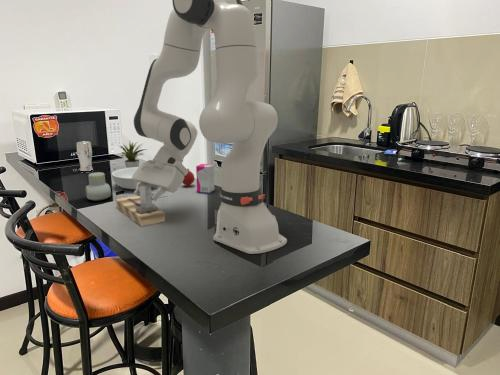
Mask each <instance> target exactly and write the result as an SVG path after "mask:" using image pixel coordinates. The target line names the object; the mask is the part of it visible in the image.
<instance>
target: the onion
mask: <svg viewBox="0 0 500 375" xmlns="http://www.w3.org/2000/svg"><path fill="white" fill-rule="evenodd" d="M186 169H187V170H188V173H187V175H186V176H184V180H183V182H182V185H184V186H186V187H190V186H191V185H193V184H194V182H195V175H194V173H193V172H192V171H190V169H189V168H186Z"/></svg>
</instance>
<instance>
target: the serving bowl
mask: <svg viewBox="0 0 500 375" xmlns="http://www.w3.org/2000/svg"><path fill="white" fill-rule="evenodd" d="M139 167H140V166H139ZM139 167H130V168H126V167H125V168H119V169H117V170H114V171H113V172H111V177H112V180H113V182H114V183H115V185H117V186H119V187H120V188H123V189H126V190H127V189H129V190H134V191H135V190H136V186H137V182H135V181H134V180H133V179H132V176H133V174H134V173H135V171H136V170H137V169H138V168H139Z"/></svg>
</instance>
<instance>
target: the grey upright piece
mask: <svg viewBox="0 0 500 375" xmlns="http://www.w3.org/2000/svg"><path fill="white" fill-rule="evenodd" d="M139 189H140V196H139V197H140V202H141V206H139V207H136V210H137V211H138V212H139V213H144V212H149V211H154V210H158V209H159V207H158V206H157V205H156V204H154V203H153V200H152V199H150V196H151V195H152V187H151V186H147V185H143V186H139Z"/></svg>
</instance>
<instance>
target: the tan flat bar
mask: <svg viewBox="0 0 500 375" xmlns="http://www.w3.org/2000/svg"><path fill="white" fill-rule="evenodd" d="M115 203H116V208H117V209H118V210H120V211H121V212H122V213H124V215H126V216H127V217H129V218H130V219H131V220H133V221H134V222H135V223H137V224H138V225H139V226H140V227H146V226H150V225H151V226H152V225H155V224H159V223H164V222H166V215H165V214H166V213H165V212H164V211H163V210H161V209H159V208H158V210H154V211H149V212H144V213H139V212H138V211H137V210H136V207H139V206H141V202H140V196H136V195H134V196H128V197H122V198H117V199H115Z"/></svg>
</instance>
